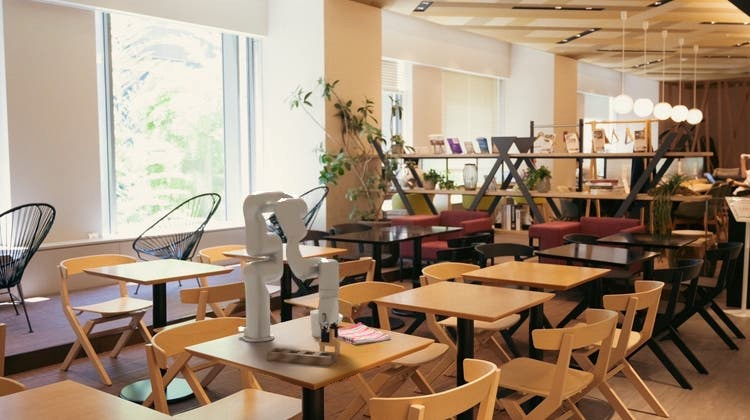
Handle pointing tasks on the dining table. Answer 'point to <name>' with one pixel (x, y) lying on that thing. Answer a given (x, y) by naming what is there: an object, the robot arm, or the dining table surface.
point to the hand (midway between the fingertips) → (329, 339)
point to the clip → (330, 343)
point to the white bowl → (340, 319)
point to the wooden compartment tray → (302, 356)
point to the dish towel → (361, 335)
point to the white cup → (315, 324)
